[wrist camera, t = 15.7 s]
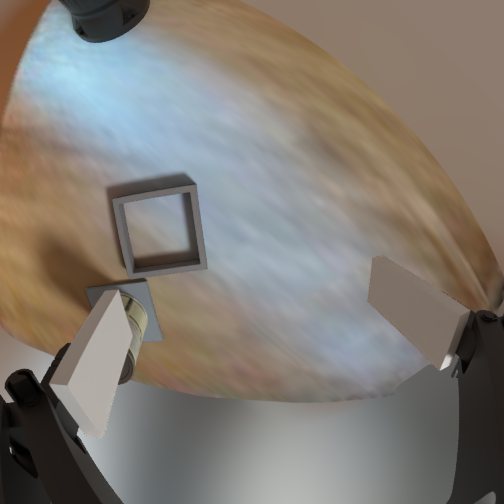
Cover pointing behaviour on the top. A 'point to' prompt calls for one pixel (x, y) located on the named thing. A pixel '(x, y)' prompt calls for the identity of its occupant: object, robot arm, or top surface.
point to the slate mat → (138, 292)
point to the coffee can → (137, 326)
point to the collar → (125, 240)
